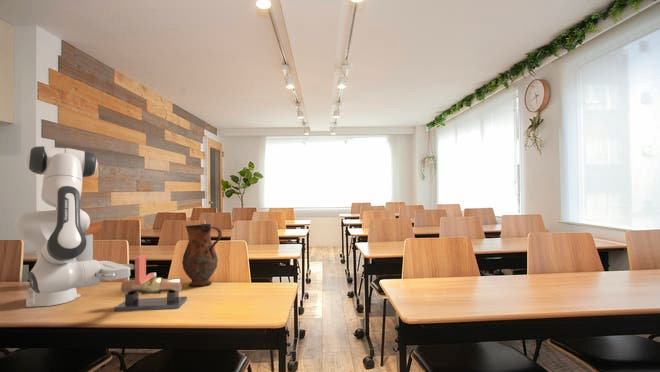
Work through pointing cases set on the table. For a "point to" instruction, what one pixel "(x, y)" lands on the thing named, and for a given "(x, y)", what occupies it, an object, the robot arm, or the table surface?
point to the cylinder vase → (87, 249)
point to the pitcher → (200, 255)
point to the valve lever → (142, 270)
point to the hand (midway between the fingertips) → (132, 266)
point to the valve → (151, 288)
